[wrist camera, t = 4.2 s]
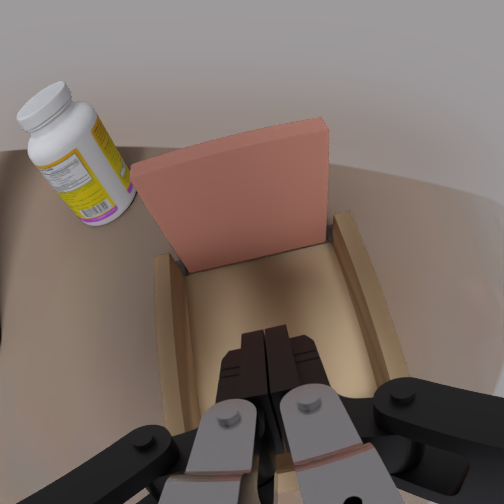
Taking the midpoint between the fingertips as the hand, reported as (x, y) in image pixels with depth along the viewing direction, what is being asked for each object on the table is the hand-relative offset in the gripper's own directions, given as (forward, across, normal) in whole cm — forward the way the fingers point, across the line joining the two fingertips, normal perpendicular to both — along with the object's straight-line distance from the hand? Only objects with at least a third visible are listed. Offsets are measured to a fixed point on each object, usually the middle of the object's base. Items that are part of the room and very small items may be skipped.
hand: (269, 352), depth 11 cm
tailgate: (+11, 0, -1) cm, 11 cm away
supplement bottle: (+20, +13, -7) cm, 25 cm away
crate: (+7, 0, +6) cm, 9 cm away
